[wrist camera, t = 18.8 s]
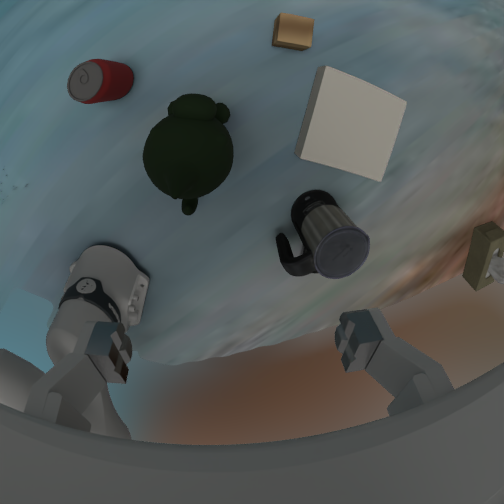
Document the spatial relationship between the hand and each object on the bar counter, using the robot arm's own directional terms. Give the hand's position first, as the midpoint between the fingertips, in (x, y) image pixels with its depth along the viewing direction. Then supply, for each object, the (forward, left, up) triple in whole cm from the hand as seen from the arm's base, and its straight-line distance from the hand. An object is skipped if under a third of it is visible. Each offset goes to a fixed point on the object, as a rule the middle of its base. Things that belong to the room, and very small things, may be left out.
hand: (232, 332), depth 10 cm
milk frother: (-14, -21, -39) cm, 47 cm away
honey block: (+20, -6, -39) cm, 45 cm away
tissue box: (-9, -78, -40) cm, 88 cm away
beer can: (+8, +20, -39) cm, 45 cm away
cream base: (+8, -20, -39) cm, 45 cm away
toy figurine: (-2, +4, -39) cm, 40 cm away
